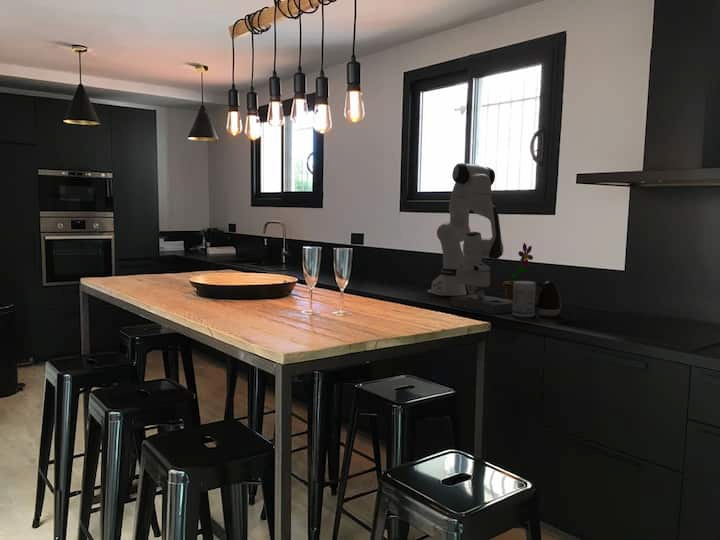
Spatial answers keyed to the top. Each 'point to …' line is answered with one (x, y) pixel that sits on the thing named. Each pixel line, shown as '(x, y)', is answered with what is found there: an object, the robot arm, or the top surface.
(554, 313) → the dark brown egg shape
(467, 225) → the robot arm
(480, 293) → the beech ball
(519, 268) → the flowerpot
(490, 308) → the board
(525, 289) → the supplement tub
